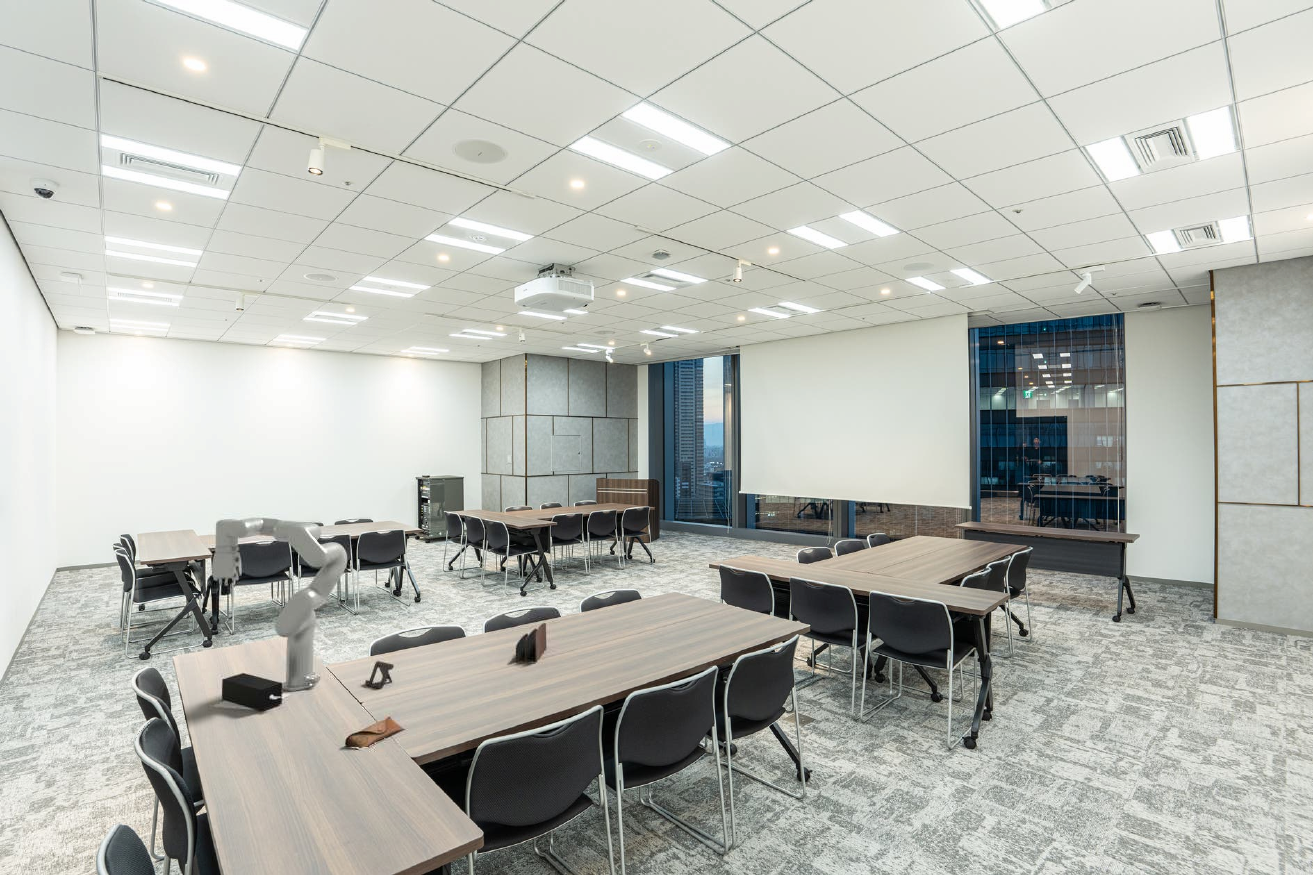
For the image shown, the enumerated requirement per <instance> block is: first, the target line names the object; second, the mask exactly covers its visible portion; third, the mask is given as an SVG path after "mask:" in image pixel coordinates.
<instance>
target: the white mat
mask: <svg viewBox="0 0 1313 875" xmlns="http://www.w3.org/2000/svg"><path fill="white" fill-rule="evenodd" d="M290 696H291V693H282V699H283V700H285V699H287V698H289V697H290ZM286 697H287V698H286ZM214 708H225V709H239V710H241V709H242V710H255V709H252V708H249V707H245V706H242V705H239V704H235V703H232V702H229V701H225V700H222V701H221V702H219V703H218V704H215V705H214Z"/></svg>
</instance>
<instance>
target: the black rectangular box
mask: <svg viewBox="0 0 1313 875" xmlns="http://www.w3.org/2000/svg"><path fill="white" fill-rule="evenodd" d="M221 680H222V682H221V700H222V701H229V702H232V703H235V704H239V705H242V706H245V707H249V708H252V709H255V710H256V711H259V712H263V711H266V710H268V709H271V708H274V707H277V706H279V705H283V702H282V701H283V700H282V694H283V689H282V684H283V682H280V681H276V680H271V679H268V678H264V677H260V676H257V675H253V674H249V673H245V672H242V673H239V674H235V675H232V676H229V677H225V678H222V679H221ZM252 709H251V710H252Z"/></svg>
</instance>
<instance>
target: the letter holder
mask: <svg viewBox="0 0 1313 875" xmlns="http://www.w3.org/2000/svg"><path fill="white" fill-rule="evenodd" d="M517 641H518V642H517V643H516V646H515V663H516V662H523V663H524V662H537V663H538V661H539V660H540V659H541V657H542V656H543V655H544V653H545V652H546V651H547V649H548V648H547V624H546V622H543V623H541V624H540V625H539V626H538V628H534V629H533V630H531V632H530V633H529V634H528V633H525V634H524V635H522V637H520V639H519V640H517ZM544 651H545V652H544ZM542 654H543V655H542ZM539 658H540V659H539ZM538 659H539V660H538ZM537 660H538V661H537Z"/></svg>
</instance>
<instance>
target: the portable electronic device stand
mask: <svg viewBox="0 0 1313 875" xmlns="http://www.w3.org/2000/svg"><path fill="white" fill-rule="evenodd" d="M378 669H379V671H380V673H381V676H382V678H381V680H380V682H379V683H378V682H374V679H375V678H376V677H375V676H376V674H377V671H378ZM393 669H394V664H391V663H390V662H389V663H388V662H385V661H380V660H376V661H375V664H374V665H373V669H372V672H371V676H370V678H369V680H367V679H366V680H365V683H364V684H365V685H366V686H368V687H373V688H376V689H380V690H381V689H383V688H384V685H385V682H388V681H389V683H393V681H392V677H391V675H390V672H389V671H390V670H393Z"/></svg>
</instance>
